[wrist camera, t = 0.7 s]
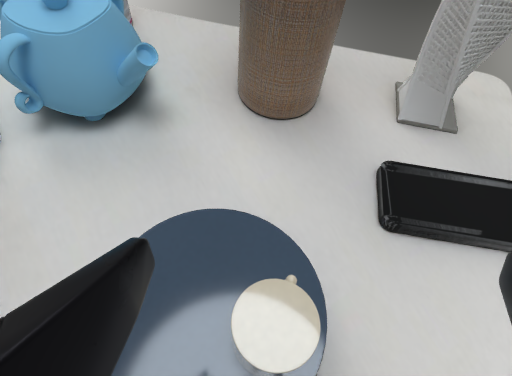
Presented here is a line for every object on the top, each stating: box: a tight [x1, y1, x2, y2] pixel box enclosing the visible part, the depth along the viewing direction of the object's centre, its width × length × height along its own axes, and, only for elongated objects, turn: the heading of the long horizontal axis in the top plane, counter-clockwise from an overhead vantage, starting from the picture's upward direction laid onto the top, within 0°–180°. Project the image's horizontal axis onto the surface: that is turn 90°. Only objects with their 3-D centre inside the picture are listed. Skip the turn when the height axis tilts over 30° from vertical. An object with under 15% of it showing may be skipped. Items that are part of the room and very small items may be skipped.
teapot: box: [0, 0, 158, 121], centre depth 35 cm, size 20×17×12 cm
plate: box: [111, 209, 327, 376], centre depth 27 cm, size 17×17×2 cm
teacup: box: [230, 275, 321, 376], centre depth 23 cm, size 6×6×4 cm
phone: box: [377, 161, 512, 252], centre depth 34 cm, size 8×1×15 cm
